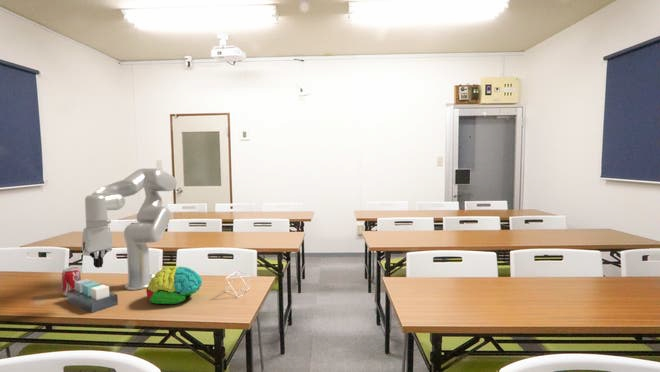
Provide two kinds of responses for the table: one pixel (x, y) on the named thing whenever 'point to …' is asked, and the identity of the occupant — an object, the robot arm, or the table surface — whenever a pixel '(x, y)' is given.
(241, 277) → the geometric polyhedron
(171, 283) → the brain model
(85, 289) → the teal key
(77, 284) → the grey key
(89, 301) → the console
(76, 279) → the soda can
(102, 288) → the ivory key
